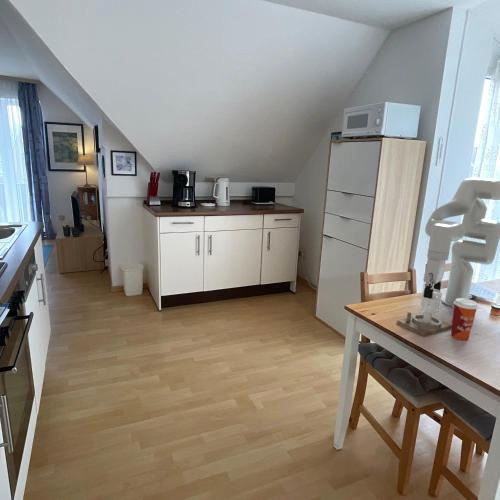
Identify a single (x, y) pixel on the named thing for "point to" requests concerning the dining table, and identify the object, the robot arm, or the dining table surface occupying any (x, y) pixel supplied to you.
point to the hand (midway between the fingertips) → (431, 294)
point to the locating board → (424, 324)
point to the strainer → (430, 305)
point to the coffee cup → (463, 318)
